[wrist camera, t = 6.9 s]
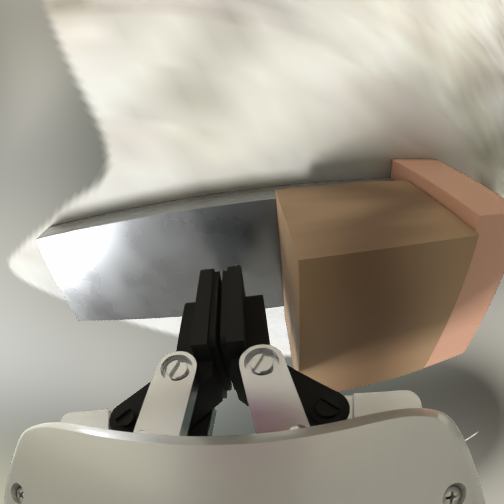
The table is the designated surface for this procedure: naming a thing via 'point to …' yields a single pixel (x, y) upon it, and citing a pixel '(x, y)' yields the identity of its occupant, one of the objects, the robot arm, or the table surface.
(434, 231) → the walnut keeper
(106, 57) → the table surface
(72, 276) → the metal rail
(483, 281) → the block
